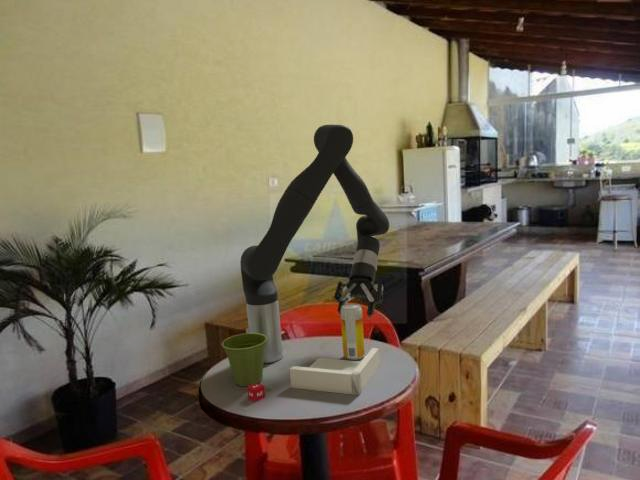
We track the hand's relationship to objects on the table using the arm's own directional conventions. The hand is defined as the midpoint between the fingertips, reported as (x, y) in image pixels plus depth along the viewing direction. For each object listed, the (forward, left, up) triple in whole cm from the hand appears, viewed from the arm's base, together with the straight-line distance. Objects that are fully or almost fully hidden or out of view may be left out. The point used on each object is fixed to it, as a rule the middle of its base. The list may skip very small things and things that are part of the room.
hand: (354, 315), depth 145 cm
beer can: (0, -3, -12) cm, 12 cm away
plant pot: (-22, -25, -12) cm, 35 cm away
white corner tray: (0, -17, -11) cm, 20 cm away
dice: (-15, -33, -12) cm, 38 cm away
